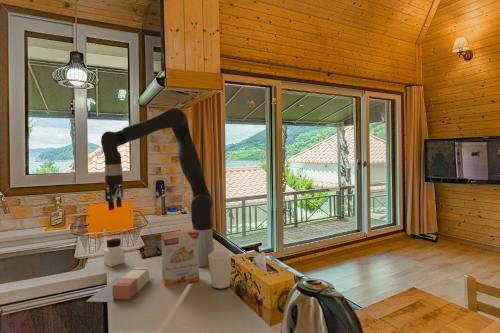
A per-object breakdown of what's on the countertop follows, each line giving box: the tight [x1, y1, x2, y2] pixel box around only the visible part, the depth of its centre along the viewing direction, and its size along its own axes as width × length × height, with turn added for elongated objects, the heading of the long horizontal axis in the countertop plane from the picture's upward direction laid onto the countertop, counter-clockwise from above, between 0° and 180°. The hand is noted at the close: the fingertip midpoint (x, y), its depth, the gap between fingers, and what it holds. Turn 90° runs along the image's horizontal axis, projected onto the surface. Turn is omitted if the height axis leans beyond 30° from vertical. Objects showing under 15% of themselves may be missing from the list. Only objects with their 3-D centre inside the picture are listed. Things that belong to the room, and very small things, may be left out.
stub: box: [112, 278, 137, 300], centre depth 106 cm, size 6×6×5 cm
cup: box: [208, 250, 234, 291], centre depth 115 cm, size 10×10×13 cm
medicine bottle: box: [103, 237, 126, 268], centre depth 142 cm, size 7×7×12 cm
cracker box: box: [160, 228, 200, 287], centre depth 118 cm, size 14×6×21 cm, turn 118°
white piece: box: [86, 267, 157, 304], centre depth 112 cm, size 17×20×6 cm
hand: (115, 208), depth 138 cm, fingers open, 8 cm apart
